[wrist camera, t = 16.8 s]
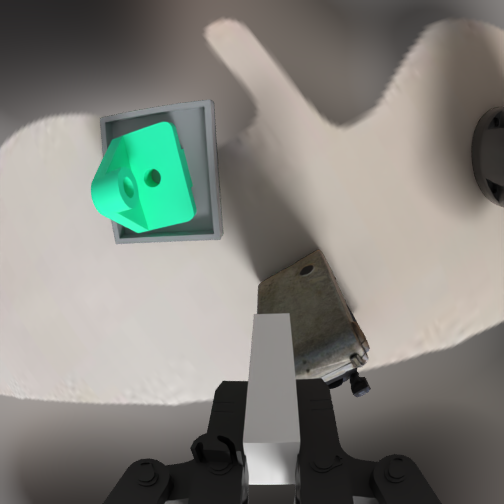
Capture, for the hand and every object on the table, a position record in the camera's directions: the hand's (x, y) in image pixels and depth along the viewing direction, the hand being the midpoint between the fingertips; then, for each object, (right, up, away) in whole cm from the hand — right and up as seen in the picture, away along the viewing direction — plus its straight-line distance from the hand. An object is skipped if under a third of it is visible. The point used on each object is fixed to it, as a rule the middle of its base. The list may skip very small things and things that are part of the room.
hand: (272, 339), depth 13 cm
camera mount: (-12, +13, +23) cm, 30 cm away
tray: (-12, +14, +24) cm, 30 cm away
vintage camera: (+8, -3, +29) cm, 31 cm away
